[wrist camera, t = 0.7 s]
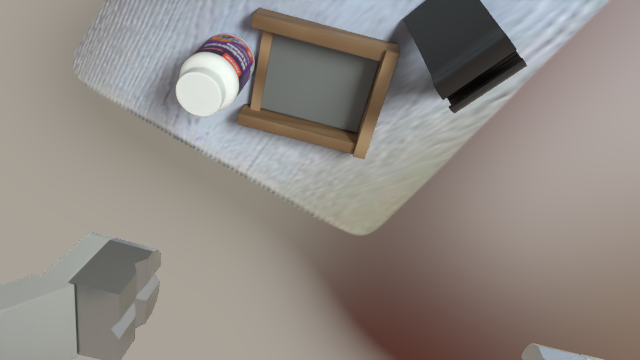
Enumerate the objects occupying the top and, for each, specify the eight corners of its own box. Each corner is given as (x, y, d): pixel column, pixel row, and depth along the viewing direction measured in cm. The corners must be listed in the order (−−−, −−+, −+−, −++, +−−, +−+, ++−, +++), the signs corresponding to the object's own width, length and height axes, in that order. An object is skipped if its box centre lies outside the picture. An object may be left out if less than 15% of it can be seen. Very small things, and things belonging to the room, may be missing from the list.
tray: (259, 7, 44) (252, 15, 42) (398, 44, 45) (399, 54, 42) (243, 113, 50) (235, 125, 48) (365, 145, 51) (364, 159, 48)
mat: (275, 27, 45) (274, 27, 45) (380, 55, 45) (380, 56, 45) (261, 106, 50) (260, 107, 49) (357, 131, 50) (356, 132, 50)
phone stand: (403, 17, 43) (410, 58, 33) (460, -28, 41) (486, 2, 31) (456, 89, 46) (477, 146, 36) (512, 51, 44) (551, 102, 34)
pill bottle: (264, 48, 46) (239, 84, 38) (244, 92, 49) (216, 134, 41) (214, 21, 45) (177, 52, 37) (196, 68, 48) (159, 106, 40)
